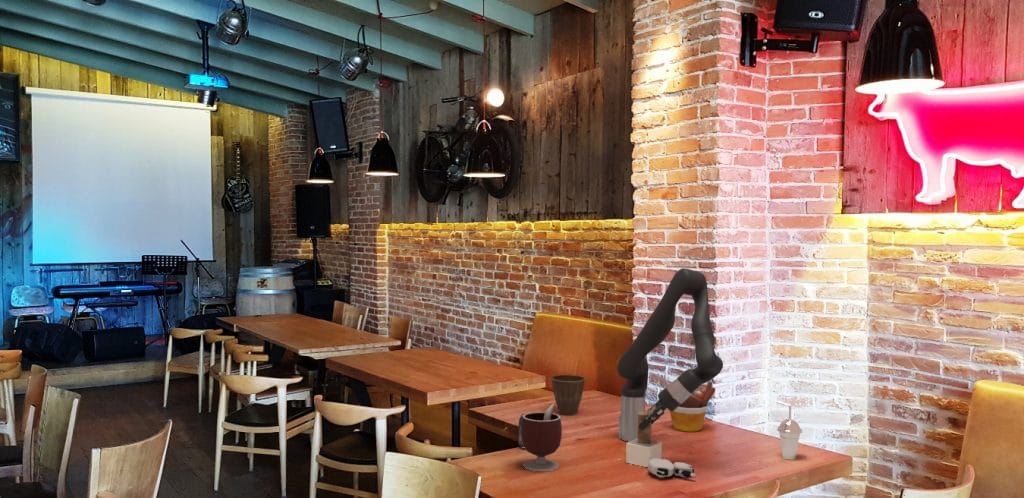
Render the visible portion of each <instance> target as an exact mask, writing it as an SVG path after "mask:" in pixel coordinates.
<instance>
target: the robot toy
mask: <svg viewBox="0 0 1024 498" xmlns="http://www.w3.org/2000/svg"><path fill="white" fill-rule="evenodd" d="M649 459H651V460H650V461H649V464H648V468H647V469H648V471H649V472H650V473H651V474H653V475H656V477H658V478H659V479H663V478H665V477H668V478H669V477H671V476H673V475H674V476H676V477H680V478H683V479H684V478H691V477H692V478H695V477H696V473H695V469H694V468H693V466H692V465H691V464H688V463H687V462H686V463H685V462H677V461H675V462H674V463H672V462H671V461H670V460H668V459H665V458H661V459H658V458H653V459H652V458H650V457H649Z"/></svg>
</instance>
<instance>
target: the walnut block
mask: <svg viewBox="0 0 1024 498" xmlns="http://www.w3.org/2000/svg"><path fill="white" fill-rule="evenodd" d="M648 416H649V412H647V411H645V412H638V425H639V424H640V423H642V422H643V421H644V420H645V419H646V417H648ZM651 419H652V420H653V418H652V417H651ZM652 425H653V424H650V425H649V426H647V427H646V428H645V429H644V430H643V431H642V430H641V429H640V428H639V427H638V443H641V444H651V440H652Z"/></svg>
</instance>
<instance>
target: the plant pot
mask: <svg viewBox="0 0 1024 498" xmlns="http://www.w3.org/2000/svg"><path fill="white" fill-rule="evenodd" d="M585 382H586V378H585V377H584V376H580V375H576V374H575V375H573V374H558V375H554V376H552V377H551V385H552V391H553V395H554V399H555V405H556V407H557V409H558V413H559V414H560V415H562V414H563V415H562V416H574V414H575V415H577V413H578V410H579V407H580V404H581V401H582V397H583V393H584V388H585Z"/></svg>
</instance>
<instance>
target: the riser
mask: <svg viewBox="0 0 1024 498" xmlns="http://www.w3.org/2000/svg"><path fill="white" fill-rule="evenodd" d="M662 443H663V442H661V441H657V440H652V439H651V444H641V443H638V438H637V439H635V440H633V441H631V442H626V443H625V444H626V448H625V449H626V450H625V451H626V452H625V453H626V454H625V455H626V456H625V461H626V462H627V463H631V464H630V465H632V464H635V465H634V466H636V465H640V466H639V467H641V466H644V467H643V468H645V467H648V464H649V461H650V460H651V459H649V457H650V458H652V459H653V458H658V459H663V458H662V457H663V456H662V451H663V450H662V447H663V444H662ZM626 462H625V463H626ZM627 463H626V464H627Z"/></svg>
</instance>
